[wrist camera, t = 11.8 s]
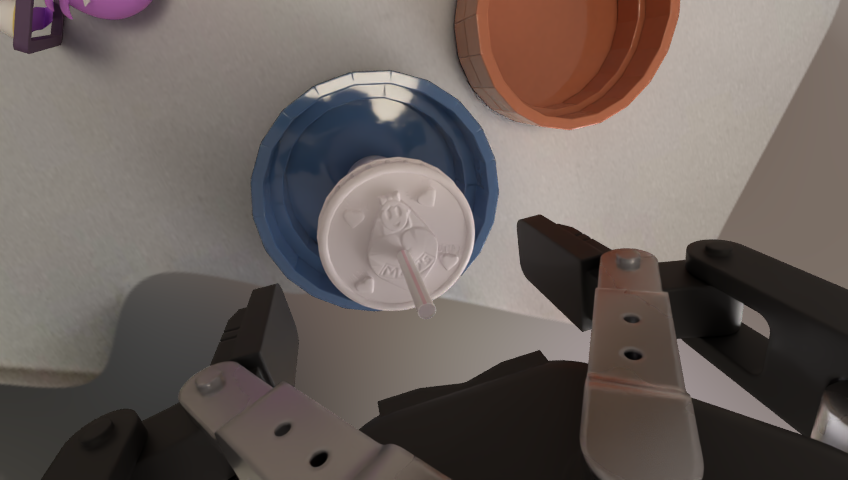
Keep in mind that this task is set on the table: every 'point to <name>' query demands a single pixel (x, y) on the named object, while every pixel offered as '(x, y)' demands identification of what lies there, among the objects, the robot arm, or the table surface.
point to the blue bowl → (351, 141)
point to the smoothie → (395, 234)
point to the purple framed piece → (56, 18)
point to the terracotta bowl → (562, 55)
